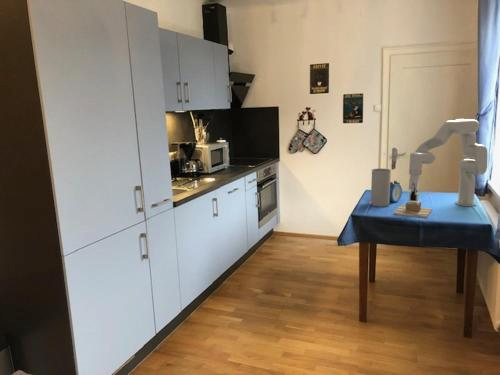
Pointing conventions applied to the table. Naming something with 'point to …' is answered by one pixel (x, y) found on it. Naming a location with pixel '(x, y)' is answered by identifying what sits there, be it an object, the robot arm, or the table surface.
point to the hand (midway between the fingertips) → (413, 199)
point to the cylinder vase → (380, 187)
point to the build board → (421, 214)
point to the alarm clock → (395, 191)
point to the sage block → (416, 197)
